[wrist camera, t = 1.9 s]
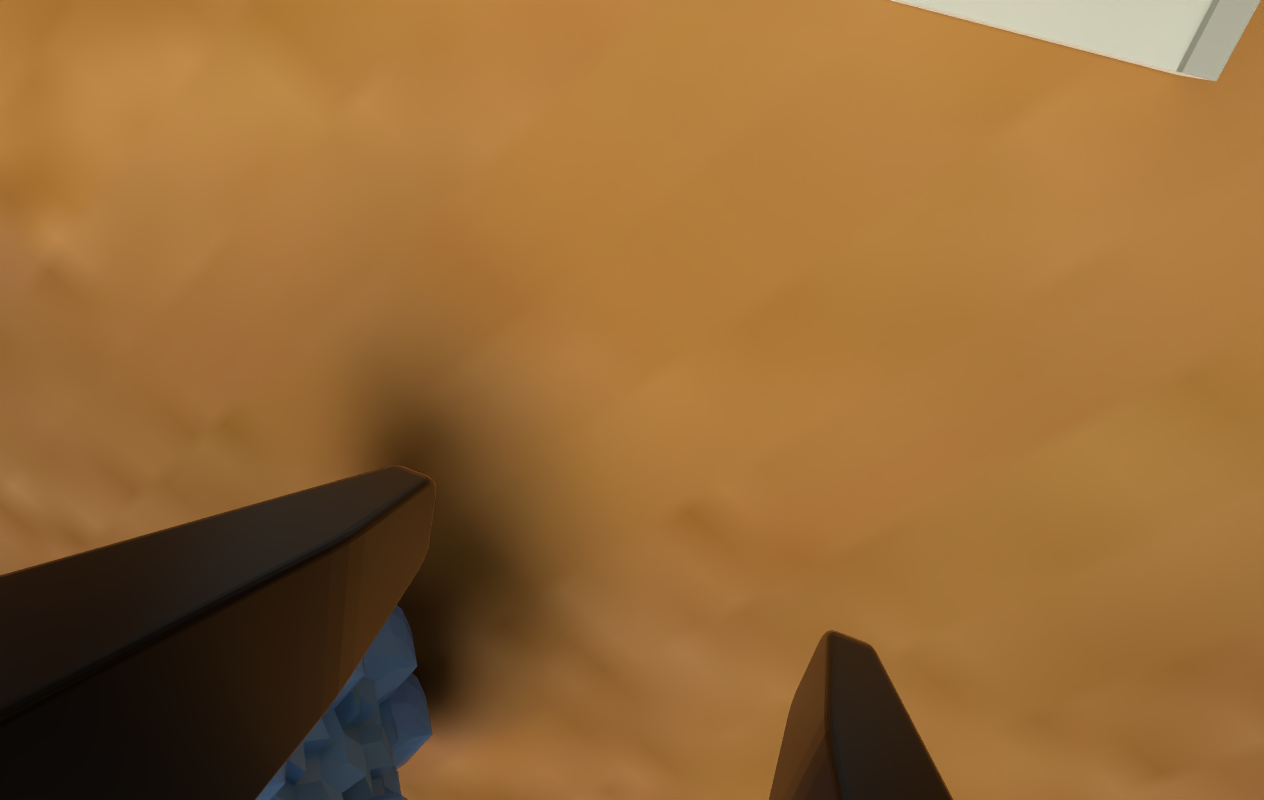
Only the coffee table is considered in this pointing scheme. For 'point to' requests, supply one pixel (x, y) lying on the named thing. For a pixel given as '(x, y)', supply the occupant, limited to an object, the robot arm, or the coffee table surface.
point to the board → (1121, 27)
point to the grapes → (363, 728)
